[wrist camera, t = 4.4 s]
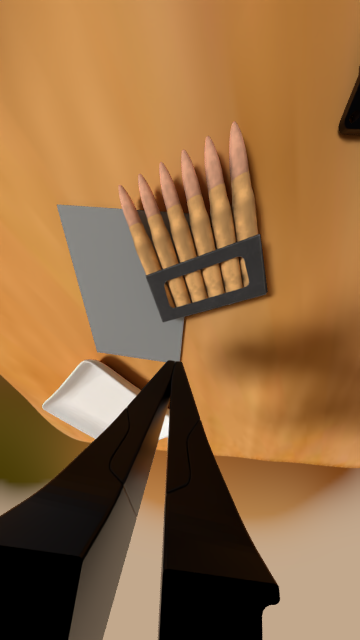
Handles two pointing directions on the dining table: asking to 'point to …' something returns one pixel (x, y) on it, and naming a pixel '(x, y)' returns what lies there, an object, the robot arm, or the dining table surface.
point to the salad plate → (94, 398)
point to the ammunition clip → (200, 236)
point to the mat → (118, 284)
